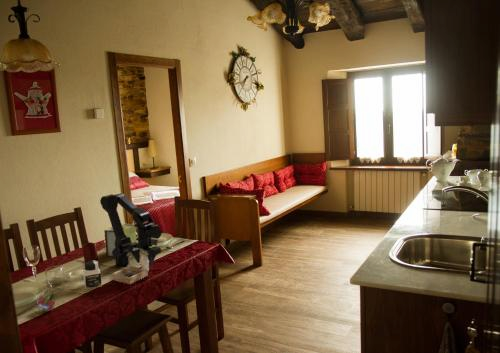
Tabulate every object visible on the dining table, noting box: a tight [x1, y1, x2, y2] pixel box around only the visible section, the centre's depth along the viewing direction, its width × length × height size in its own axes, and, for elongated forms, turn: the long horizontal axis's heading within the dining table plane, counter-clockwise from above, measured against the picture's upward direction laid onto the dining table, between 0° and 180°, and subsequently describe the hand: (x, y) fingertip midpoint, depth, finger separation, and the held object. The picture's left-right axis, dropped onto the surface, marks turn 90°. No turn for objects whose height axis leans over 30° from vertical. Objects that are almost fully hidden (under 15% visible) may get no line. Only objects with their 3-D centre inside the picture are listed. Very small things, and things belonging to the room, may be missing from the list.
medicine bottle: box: [83, 259, 103, 290], centre depth 202 cm, size 7×7×12 cm
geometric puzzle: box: [36, 294, 56, 314], centre depth 178 cm, size 7×7×8 cm
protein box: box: [104, 222, 137, 258], centre depth 248 cm, size 10×15×16 cm
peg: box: [140, 252, 150, 272], centre depth 220 cm, size 4×4×9 cm
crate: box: [112, 265, 149, 285], centre depth 211 cm, size 12×12×3 cm
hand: (145, 264), depth 220 cm, fingers open, 9 cm apart
